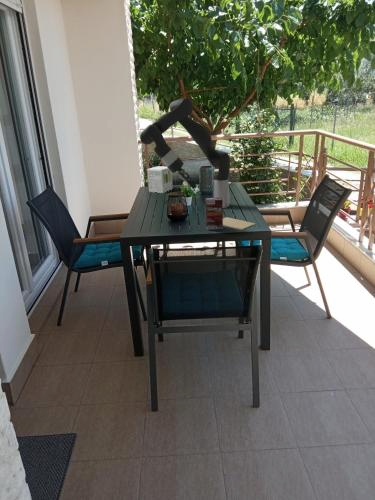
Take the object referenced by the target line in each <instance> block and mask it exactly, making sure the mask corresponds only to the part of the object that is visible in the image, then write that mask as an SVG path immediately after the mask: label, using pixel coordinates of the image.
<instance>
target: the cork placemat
mask: <svg viewBox="0 0 375 500" xmlns="http://www.w3.org/2000/svg"><path fill="white" fill-rule="evenodd" d="M255 225H256V223H255V222H250V221H245V220H242V219H241V220H240V219H236V218H232V217H227V216H226V217H223V227H227V228H230V229H231V228H232V229H236V230H240V231H242V230H245V229H248V228H250V227H253V226H255Z"/></svg>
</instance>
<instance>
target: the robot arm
mask: <svg viewBox="0 0 375 500" xmlns="http://www.w3.org/2000/svg"><path fill="white" fill-rule="evenodd" d="M193 111H194V104H193V102H192V100H191V99H190V98H188V97H181V98H179V99H176V100H173V101H172V102H170V104H169V111H168V112H166V113H165V114H162V115H161V116H159V117H158V118H156V120H154V121H153V122H152V123H151V124H148V126H147V127H145V128H144V129H142V131H141V132H140V134H139V139H140V142H141V143H142V144H144V145H147V146H148V145H151V144H153V143H154V144H155V147H154V149H153V151H154V153H155V154H156V155H157V156H158V157H159V159H160V160H161V161H162V163H163V164H164V166H165V167H167V168H168V169H169V170H170V171H171V172H172V174H175V173H176V172H177V175H178V177H180V178H181V179H182V181H184V182H185V183H186V184H188V185H189V187H190V188H191V189H192V190H194V189H196V188H197V185H196V184H195V183H194V181H193V180H192V178H191V176H190V175H189V174H188V172H187V170H186V169H185V168H182V167H183V166H184V164H185V163H184V162H183V160H182V159H181V158H180V157H179V156H178V154H177V153H176V152H175V151H174V150H173V149H172V148H171V146H169V145H168V144H167V142H166V140H165V137H164V135H163V134H165V132H167V131H168V129H170V128H171V127H172V126H174V125H175V124H177V123H179V124H180V125H181V126H182V127H183V129H185V131H186V132H187V133H188V134H189V136H190V137H191V139H192V140H193V141H194V142H195V144H196V145H197V146H198V147H199V149H200V150H201V151H202V153H203V154H204V156H205V157H206V159H207V160H208V162H209V164H210V165H211V166H212V167H213V168H216V169H218V172H216V173H215V174H213V178H212V179H213V198H222V200H223V209H226V208H228V207H230V206H231V203H230V202H231V201H230V200H231V198H230V197H231V195H230V194H231V193H230V190H229V189H230V187H229V178H230V177H229V176H230V172H231V169H230V168H231V159H230V155H229V153H227V152H222V151H221V152H219V151H218V150H216V148H215V147H214V146H213V144H212V143H213V141H212V136H211V134H210V132H209V131H208V129H207V128H206V126H204V125H203V124H202V123H200V122H198V121H196V120H194V119H192V118H191V117H190V115H191V114H193Z"/></svg>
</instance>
